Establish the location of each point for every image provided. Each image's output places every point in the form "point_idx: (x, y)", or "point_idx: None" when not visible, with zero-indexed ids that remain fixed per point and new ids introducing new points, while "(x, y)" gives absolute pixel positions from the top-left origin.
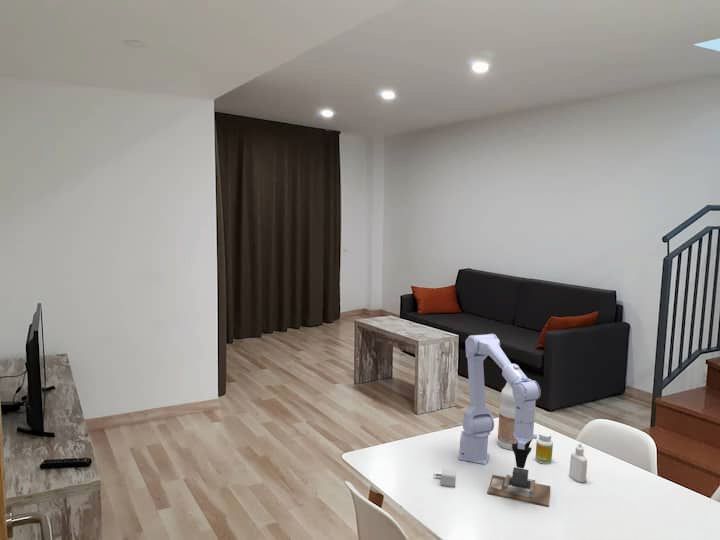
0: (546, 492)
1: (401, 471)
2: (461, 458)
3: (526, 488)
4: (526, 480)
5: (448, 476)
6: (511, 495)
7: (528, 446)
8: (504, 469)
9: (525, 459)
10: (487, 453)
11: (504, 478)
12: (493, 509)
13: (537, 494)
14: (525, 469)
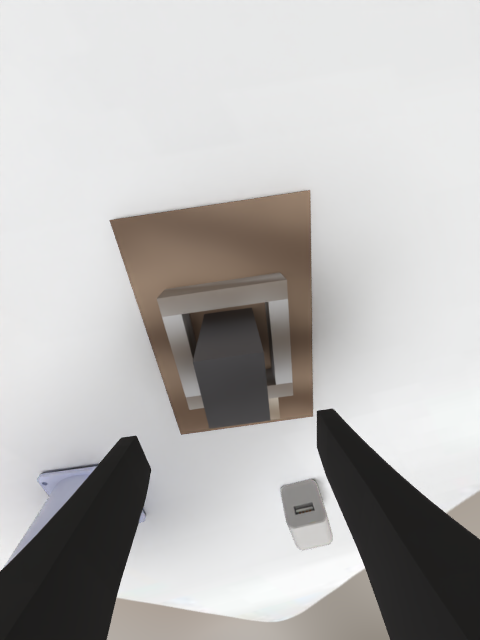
0: (190, 226)
1: (293, 563)
2: (141, 517)
3: (253, 316)
4: (259, 337)
5: (329, 526)
6: (298, 350)
7: (60, 562)
8: (100, 413)
9: (414, 491)
10: (39, 482)
11: (182, 399)
12: (401, 372)
13: (234, 262)
14: (197, 376)
